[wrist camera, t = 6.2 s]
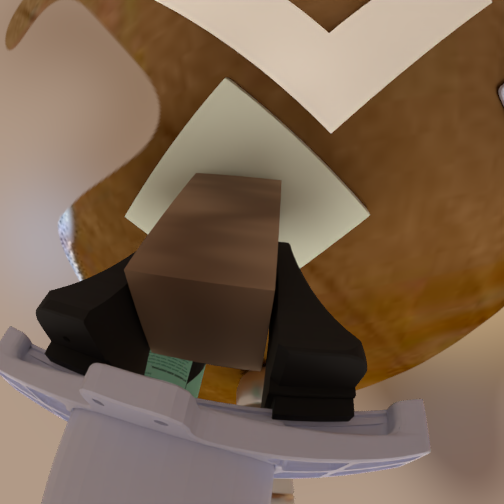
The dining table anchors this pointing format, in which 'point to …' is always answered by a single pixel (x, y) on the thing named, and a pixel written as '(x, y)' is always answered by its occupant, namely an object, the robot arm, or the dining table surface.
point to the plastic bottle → (252, 397)
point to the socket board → (330, 45)
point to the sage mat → (254, 171)
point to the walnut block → (210, 272)
